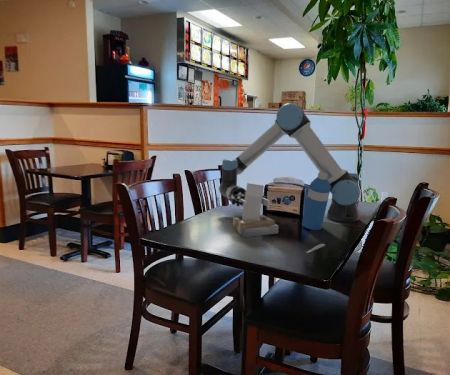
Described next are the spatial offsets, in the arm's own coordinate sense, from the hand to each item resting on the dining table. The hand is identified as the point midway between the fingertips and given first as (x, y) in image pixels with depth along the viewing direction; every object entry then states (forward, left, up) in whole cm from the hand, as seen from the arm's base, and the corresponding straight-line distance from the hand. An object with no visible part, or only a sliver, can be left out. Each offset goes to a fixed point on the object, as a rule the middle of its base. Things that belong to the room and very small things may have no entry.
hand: (258, 204), depth 158 cm
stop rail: (-2, +1, -12) cm, 13 cm away
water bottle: (-14, -24, -12) cm, 30 cm away
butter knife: (-28, +8, -13) cm, 32 cm away
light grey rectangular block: (+6, -3, -11) cm, 13 cm away
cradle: (+4, -2, -12) cm, 13 cm away
